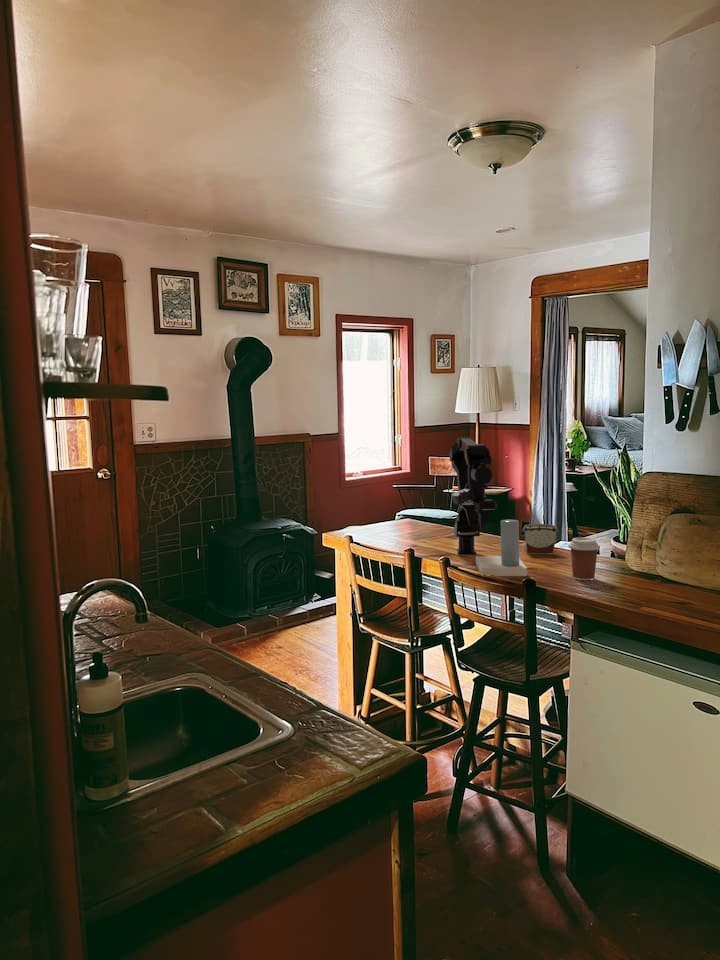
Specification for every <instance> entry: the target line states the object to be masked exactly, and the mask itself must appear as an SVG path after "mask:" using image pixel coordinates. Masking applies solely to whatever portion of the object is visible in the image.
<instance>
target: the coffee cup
mask: <svg viewBox="0 0 720 960" xmlns="http://www.w3.org/2000/svg"><path fill="white" fill-rule="evenodd" d="M568 548H569V549H570V559H571V570H572V572H571V573H572V579H573V578H574V579H573V580H575V579H577V580H576V581H580V580H591V579H594V578H595V576H596V567H597V557H598V550H600V549H601V548H600V544H598V542H597V540H596V539H595V538H592V537H574V538H572V539H571V542H570V543H568ZM594 580H595V579H594ZM591 581H592V580H591Z"/></svg>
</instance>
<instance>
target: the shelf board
mask: <svg viewBox="0 0 720 960" xmlns="http://www.w3.org/2000/svg"><path fill="white" fill-rule="evenodd" d="M475 565H476V567H477V569H478V571H479V574H480V573H481V574H482V575H493V576H492V577H527V576H528V567H527V566H526V565H525V564H524V562H523V561H522V560H521V559H520V557H519V566H514V567H508V566H503V565H501V555H500V556H499V555H497V556H495V555H494V556H489V555H488V556H487V555H485V556H480V555H479V556H477V555H476V556H475ZM481 574H480V575H481Z"/></svg>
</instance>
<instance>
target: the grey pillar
mask: <svg viewBox="0 0 720 960" xmlns="http://www.w3.org/2000/svg"><path fill="white" fill-rule="evenodd" d="M519 524H520V523H519V520H518V519H502V520H500V556H501V565H503V566H508V567H514V566H519V558H520V531H519V530H520V528H519V527H520V525H519Z"/></svg>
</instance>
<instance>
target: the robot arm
mask: <svg viewBox="0 0 720 960" xmlns="http://www.w3.org/2000/svg"><path fill="white" fill-rule="evenodd" d="M448 456H449V457H448V459H449V462H450V463H451V468H452V469H453V470H454V471H455V473H456V479H457V480H456V481H457V491H456V492H454V493H452V494H451V498H452V501H453V504H456V505H459V512H458V514H457V516H456V517H455V518H456V519H455V523H454V527H453V536H454V537H455V538H458V548H457V549H456V552H457V554H459V555H466V554H467V555H468V554H469V555H470V554H473V555H476V554H477V551H476V548H475V537H480V536H481V534H480V533H481V530H484V529H485V528H486V526H487V524H488V523H489V519H490V517H491V516H492V514H493V512H494V511H495V510H496V509H497V502H496V500H494V499H489V498H488V496H486V488H487V489H488V484H489V483H491V481H492V478H493V472H492V471H491V469H490V468H489V467H487V466H491V464H492V461H493V459H492V456H491V453H490V449H489V447H487V445H486V444H485V443H479V444H478V443H477V442H476V441H474V440H473V438H471V437H459V438H457V441H456V442H455V443H454V444H453V445H452V446H451V447H450V450H449V455H448Z"/></svg>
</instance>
